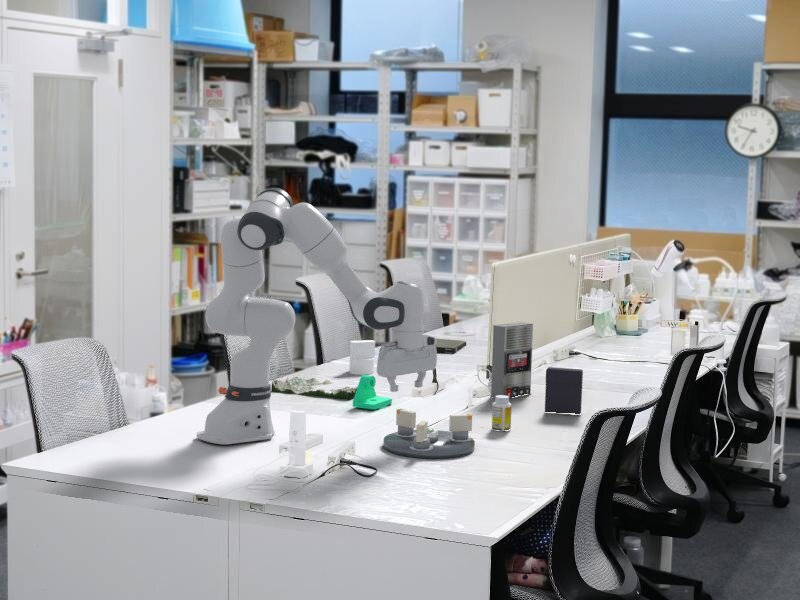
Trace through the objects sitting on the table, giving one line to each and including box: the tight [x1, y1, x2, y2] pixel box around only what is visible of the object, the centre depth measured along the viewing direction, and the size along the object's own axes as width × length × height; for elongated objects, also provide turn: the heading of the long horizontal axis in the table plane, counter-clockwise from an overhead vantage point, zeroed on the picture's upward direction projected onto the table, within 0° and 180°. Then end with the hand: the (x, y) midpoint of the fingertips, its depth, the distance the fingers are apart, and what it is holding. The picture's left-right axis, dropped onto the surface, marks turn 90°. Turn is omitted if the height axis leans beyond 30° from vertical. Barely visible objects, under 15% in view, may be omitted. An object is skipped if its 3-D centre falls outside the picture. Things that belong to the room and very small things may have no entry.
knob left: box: [413, 420, 430, 449], centre depth 314 cm, size 6×4×6 cm
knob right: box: [448, 413, 473, 440], centre depth 325 cm, size 6×4×6 cm
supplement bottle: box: [491, 395, 512, 431], centre depth 345 cm, size 6×6×10 cm
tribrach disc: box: [382, 427, 475, 460], centre depth 323 cm, size 25×25×5 cm
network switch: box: [434, 338, 467, 355], centre depth 478 cm, size 23×24×5 cm
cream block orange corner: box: [395, 408, 417, 435], centre depth 329 cm, size 6×4×6 cm
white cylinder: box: [348, 339, 376, 376], centre depth 425 cm, size 9×9×12 cm
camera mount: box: [352, 374, 393, 410], centre depth 372 cm, size 12×8×10 cm, turn 150°
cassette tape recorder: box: [490, 321, 534, 399], centre depth 389 cm, size 14×6×25 cm, turn 131°
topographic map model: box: [271, 376, 358, 401], centre depth 402 cm, size 36×29×5 cm
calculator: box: [544, 366, 584, 414], centre depth 366 cm, size 11×4×15 cm, turn 74°
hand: (406, 389), depth 327 cm, fingers open, 8 cm apart
